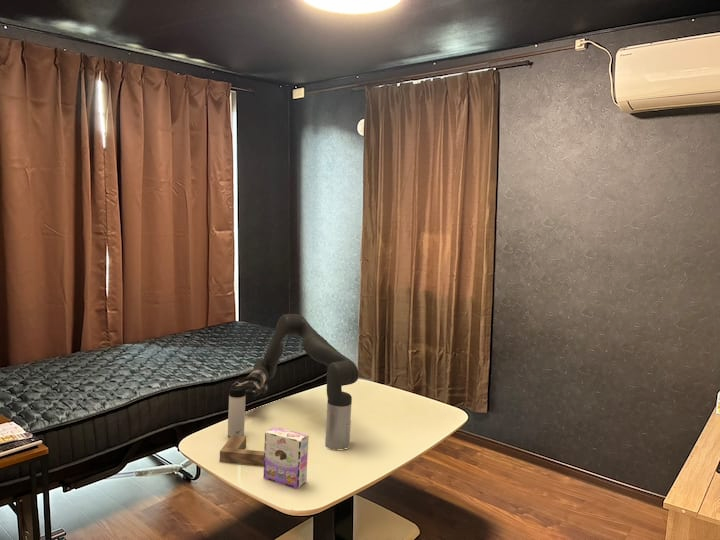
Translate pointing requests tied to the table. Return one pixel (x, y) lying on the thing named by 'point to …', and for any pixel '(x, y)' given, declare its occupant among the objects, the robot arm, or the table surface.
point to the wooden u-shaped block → (240, 452)
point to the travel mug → (236, 411)
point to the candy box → (285, 457)
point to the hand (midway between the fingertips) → (244, 393)
